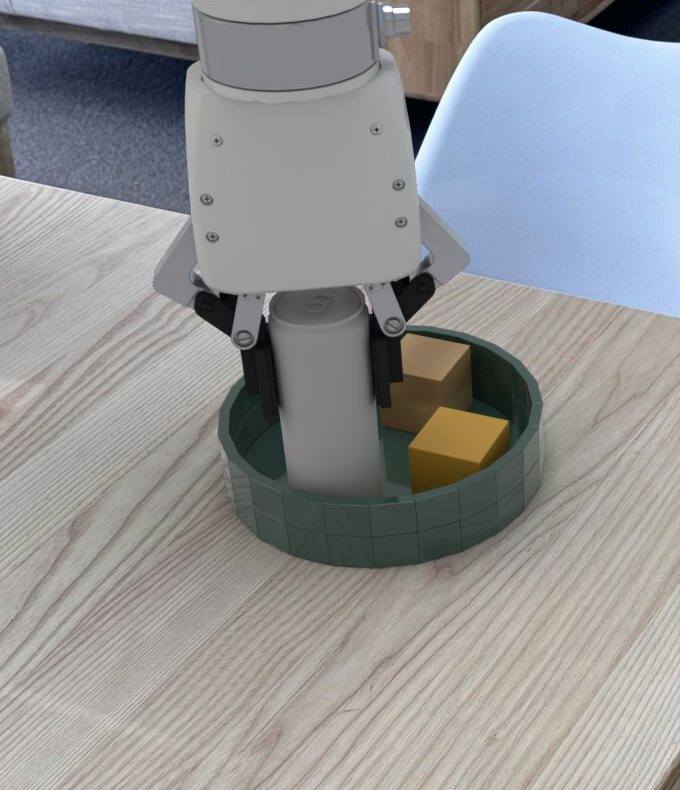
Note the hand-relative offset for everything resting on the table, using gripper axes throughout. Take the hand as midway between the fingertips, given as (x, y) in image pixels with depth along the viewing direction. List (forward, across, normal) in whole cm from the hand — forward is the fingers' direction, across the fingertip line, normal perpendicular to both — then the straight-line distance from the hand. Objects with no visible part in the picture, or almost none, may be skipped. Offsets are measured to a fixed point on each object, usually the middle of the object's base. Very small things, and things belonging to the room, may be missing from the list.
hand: (326, 395), depth 69 cm
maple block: (+8, -5, -9) cm, 13 cm away
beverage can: (+7, 0, 0) cm, 7 cm away
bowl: (+8, -3, -4) cm, 10 cm away
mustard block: (+8, -6, -1) cm, 10 cm away
